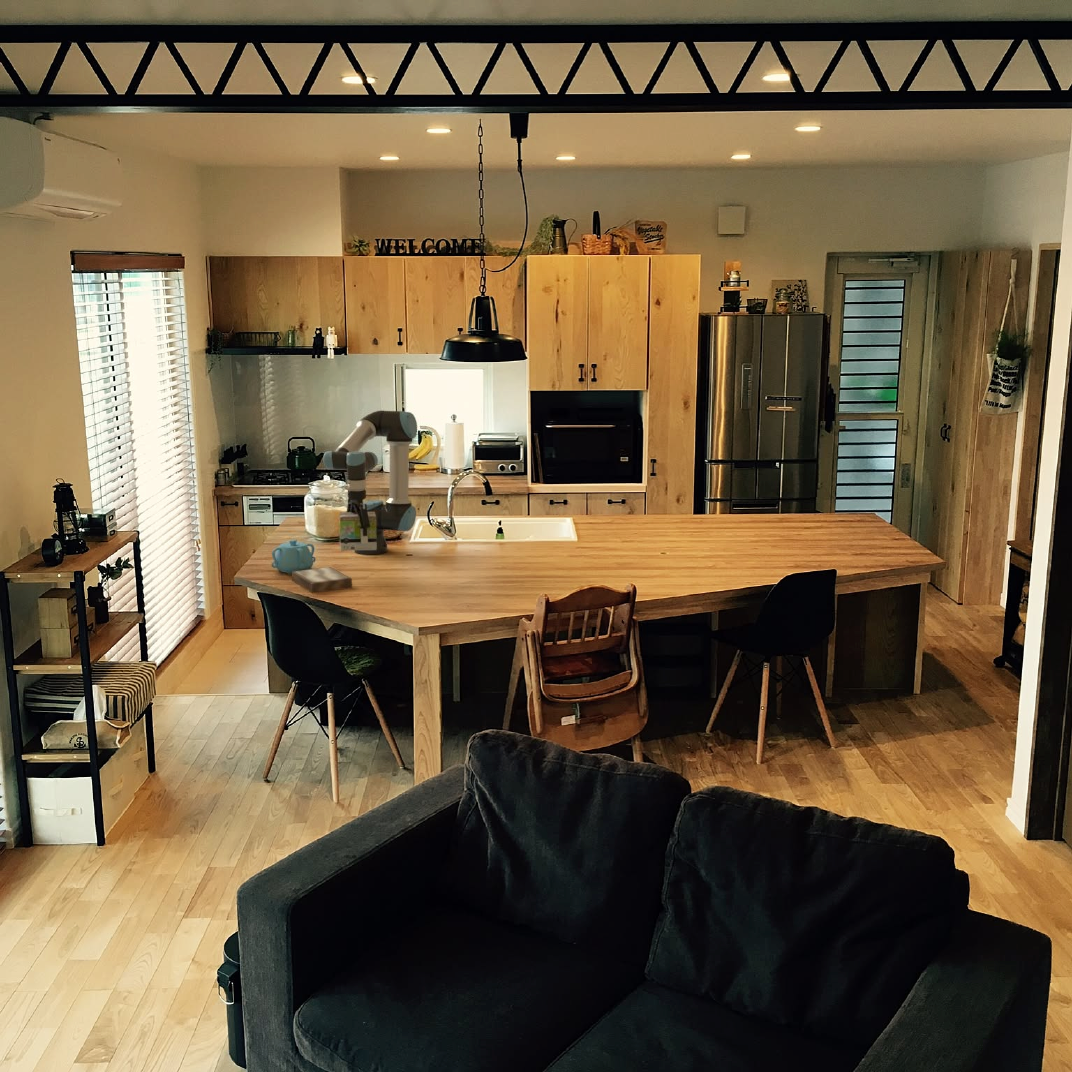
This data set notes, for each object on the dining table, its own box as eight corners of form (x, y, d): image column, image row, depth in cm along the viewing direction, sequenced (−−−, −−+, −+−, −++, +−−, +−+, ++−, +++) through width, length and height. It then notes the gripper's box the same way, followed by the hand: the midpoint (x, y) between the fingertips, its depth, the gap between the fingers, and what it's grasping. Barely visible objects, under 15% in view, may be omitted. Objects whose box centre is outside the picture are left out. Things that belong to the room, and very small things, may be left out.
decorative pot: (302, 577, 476) (301, 545, 473) (267, 574, 481) (266, 542, 478) (319, 568, 492) (319, 537, 489) (286, 565, 496) (285, 534, 493)
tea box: (340, 551, 470) (339, 517, 467) (339, 546, 480) (338, 511, 476) (377, 550, 473) (376, 515, 470) (375, 544, 483) (374, 510, 479)
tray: (330, 575, 479) (330, 566, 479) (351, 587, 461) (351, 578, 460) (292, 580, 470) (291, 571, 470) (312, 593, 452) (311, 583, 451)
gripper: (336, 485, 478) (338, 535, 484) (360, 495, 459) (361, 547, 464) (353, 483, 482) (354, 533, 488) (377, 493, 463) (378, 545, 468)
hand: (358, 540), depth 476 cm, fingers closed on tea box, 12 cm apart
